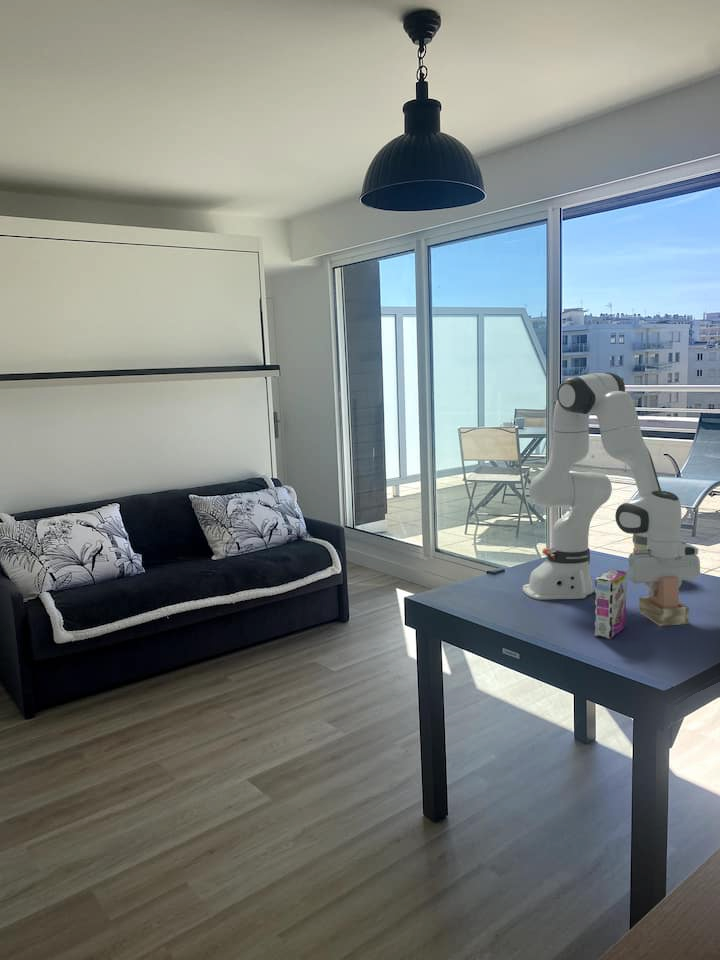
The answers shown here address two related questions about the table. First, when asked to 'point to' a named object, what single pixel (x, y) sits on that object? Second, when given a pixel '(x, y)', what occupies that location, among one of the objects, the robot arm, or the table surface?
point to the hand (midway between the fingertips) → (663, 595)
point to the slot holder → (663, 613)
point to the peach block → (666, 592)
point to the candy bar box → (610, 603)
